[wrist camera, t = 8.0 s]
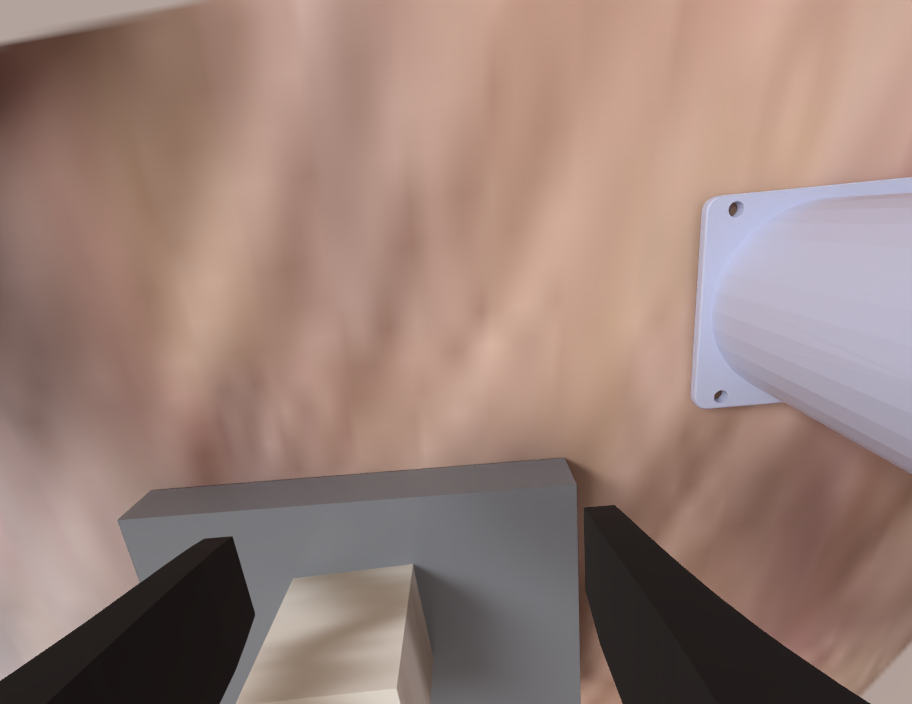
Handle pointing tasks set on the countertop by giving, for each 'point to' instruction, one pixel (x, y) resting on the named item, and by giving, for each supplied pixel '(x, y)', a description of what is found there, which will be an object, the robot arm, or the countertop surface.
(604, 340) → the countertop surface
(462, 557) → the slate board
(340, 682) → the cream cube
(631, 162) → the countertop surface
